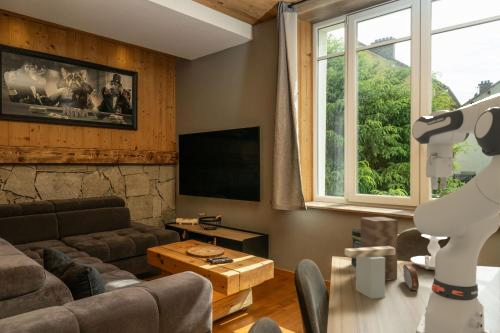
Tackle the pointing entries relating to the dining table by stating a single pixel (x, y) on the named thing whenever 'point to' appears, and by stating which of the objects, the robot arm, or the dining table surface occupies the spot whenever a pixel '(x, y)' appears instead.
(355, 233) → the coffee jar
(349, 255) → the beech bar
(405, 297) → the dining table surface
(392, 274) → the tall stand
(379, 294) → the pedestal
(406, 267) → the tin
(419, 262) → the candlestick
